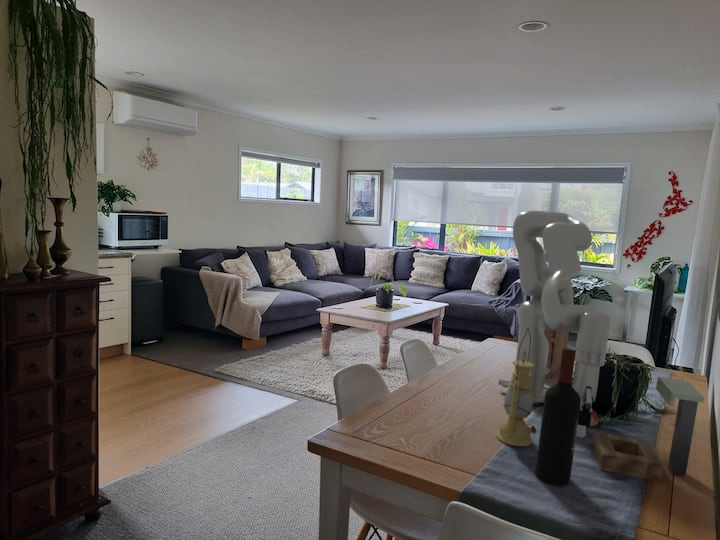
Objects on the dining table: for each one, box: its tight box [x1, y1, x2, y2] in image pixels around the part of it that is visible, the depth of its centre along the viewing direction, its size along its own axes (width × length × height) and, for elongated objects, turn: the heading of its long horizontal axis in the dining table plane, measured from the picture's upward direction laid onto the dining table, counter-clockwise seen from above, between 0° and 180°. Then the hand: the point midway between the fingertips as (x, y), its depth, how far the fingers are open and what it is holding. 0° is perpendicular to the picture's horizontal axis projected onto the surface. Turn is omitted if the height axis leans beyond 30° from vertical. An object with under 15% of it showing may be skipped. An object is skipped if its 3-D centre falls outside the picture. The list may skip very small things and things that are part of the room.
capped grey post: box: [655, 376, 705, 477], centre depth 127 cm, size 7×12×21 cm, turn 164°
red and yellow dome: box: [589, 408, 599, 428], centre depth 155 cm, size 7×10×4 cm
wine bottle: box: [534, 347, 581, 487], centre depth 119 cm, size 8×8×30 cm
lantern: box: [495, 328, 537, 447], centre depth 137 cm, size 12×10×30 cm
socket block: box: [591, 431, 664, 482], centre depth 130 cm, size 13×13×4 cm
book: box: [533, 289, 575, 379], centre depth 202 cm, size 25×9×30 cm, turn 147°
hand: (581, 419), depth 145 cm, fingers open, 7 cm apart
